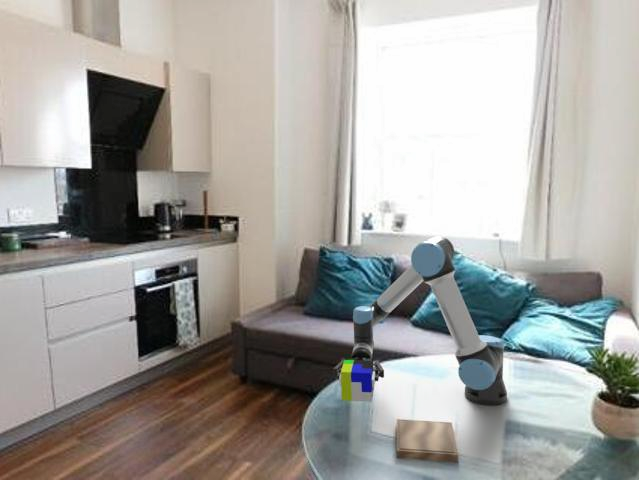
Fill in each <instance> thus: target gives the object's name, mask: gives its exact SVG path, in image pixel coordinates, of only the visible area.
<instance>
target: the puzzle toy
mask: <svg viewBox="0 0 639 480" xmlns="http://www.w3.org/2000/svg"><path fill="white" fill-rule="evenodd" d="M373 361H374V360H372V361H363V360H350V359H345V360H344V363H343V366H342V370H341V386H340V387H341V388H340V391H341V401H344V402H362V403H364V402H366V403H369V402H370V403H373V397H374V390H375V386H374V387H372V374H373V367H374V365H373Z"/></svg>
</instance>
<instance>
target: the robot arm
mask: <svg viewBox="0 0 639 480" xmlns="http://www.w3.org/2000/svg"><path fill="white" fill-rule="evenodd" d="M454 257H455V247H454V245H453V243H452V242H451V241H450V240H449V239H448V238H447V237H444V236H441V235H435V236H432V237H430V238H428V239H426V240H423V241H421V242H420V243H418V244H417V245H416V246H415V247H414V248H413V251H412V252H411V255H410V262H411V265H410V266H409V267H408V268H407V269H406V270H404V271H403V273H401V275H400V276H399V277H398V278H397V279H396V280H395V281H394V282H393V283H392V284H391V285H390V286H388V288H387V289H386V290H385V291H384V292H383V293H382V294H381V295H380V296H378V298H377V299H376V300H374V301H373V302H372V303H371V304H370V305H369V306H365V305H364V306H363V305H361V306H356V307H355V308H354V309H353V314H352V315H353V316H352V322H353V349H352V353H351V358H350V359H349V360H363V361H373V374H372V387H374V388H375V383H376V382H378V381H379V378H382V379H383V378H384V377H385V370H384V368H383V366H382V365H381V363H380V362H381V361H380V359H376V360H372V359H373V351H374V348H375V347H374V346H375V342H374V327H375V326H376V325H378V324H379V323H380V322H382V321H384V320H385V319H386V318H387V317H388V315H389V314H390V313H392V311H393V310H394V309H395V308H396V307H398V305H400V304H401V303H402V302H403V301H404V300H405V299H406V298H407V297H408V296H409V295H410V294H411V293H412V292H414V290H415V289H416V288H418V287H419V285H421V284H422V283H424V284H426V285H429V286H430V288H431V290H432V293H433V295H434V298H435V300H436V302H437V305H438V307H439V310H440V311H441V314H442V316H443V319H444V322H445V323H446V326H447V328H448V331H449V333H450V336H451V338H452V339H453V342H454V345H455V347H456V349H455V352H454V355H455V359H456V360H457V363H458V365H459V366H458V368H457V369H458V372H457V373H458V376H459V379H460V381H461V383H463V385H465V386H464V395H465V397H466V398H467V399H468V400H469V401H472V402H473V403H476V404H479V405H484V406H498V405H502V404H505V403H506V402H507V400H508V391H507V388H506V384H505V381H504V379H503V378H504V377H503V375H504V353H505V352H504V350H505V346H504V344H505V343H504V341H503V339H501V338H499V337H496V336H492V335H484V334H483V335H481V334H480V335H479V333H478V331H477V328H476V326H475V323H474V321H473V320H472V319H473V318H472V317H471V314H470V312H469V310H468V307H467V305H466V303H465V300H464V297H463V296H462V294H461V293H462V292H461V291H460V289H459V286H458V284H457V282H456V280H455V278H454V277H455V276H454V275H455V273H456V268H455V266H454V264H453V262H452V261H453V259H454ZM344 360H346V358H341V361H340V362H339V363H338V364H337V365H335V367H333V376H334V377H337V380H339V381H338V383H339V385H338V386H339V387H341V370H342V366H343V363H344Z"/></svg>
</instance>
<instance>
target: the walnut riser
mask: <svg viewBox="0 0 639 480" xmlns="http://www.w3.org/2000/svg"><path fill="white" fill-rule="evenodd" d="M455 437H456V436H455V431H454V428H453V422H449V421H448V422H447V421H435V420H433V421H431V420H417V419H401V418H399V419H396V459H401V460H402V459H403V460H404V459H405V460H419V461H430V462H442V463H443V462H445V463H446V462H447V463H456V464H458V463H459V451H458V446H457V442H456V438H455Z"/></svg>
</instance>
